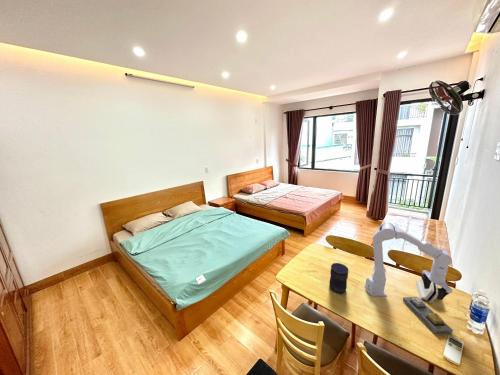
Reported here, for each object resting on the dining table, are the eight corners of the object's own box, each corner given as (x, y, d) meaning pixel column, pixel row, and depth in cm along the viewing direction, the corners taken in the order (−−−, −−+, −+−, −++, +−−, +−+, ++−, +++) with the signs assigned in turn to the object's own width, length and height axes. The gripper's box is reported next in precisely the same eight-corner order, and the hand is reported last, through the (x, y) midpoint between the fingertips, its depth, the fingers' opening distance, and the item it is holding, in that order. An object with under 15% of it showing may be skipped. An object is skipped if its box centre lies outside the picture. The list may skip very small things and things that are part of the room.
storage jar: (347, 295, 118) (350, 274, 114) (330, 293, 120) (332, 272, 116) (344, 283, 127) (346, 263, 123) (328, 281, 129) (329, 262, 126)
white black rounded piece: (415, 281, 127) (425, 270, 123) (423, 286, 126) (434, 275, 121) (420, 299, 114) (431, 288, 110) (429, 305, 112) (441, 293, 108)
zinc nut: (416, 311, 107) (418, 302, 105) (410, 305, 110) (412, 296, 109) (423, 310, 107) (425, 302, 105) (417, 304, 111) (419, 296, 109)
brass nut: (433, 328, 97) (435, 319, 96) (426, 321, 101) (428, 312, 99) (441, 328, 97) (443, 319, 96) (433, 320, 101) (436, 312, 99)
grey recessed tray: (435, 334, 94) (436, 330, 93) (402, 300, 113) (403, 297, 113) (451, 333, 94) (452, 329, 94) (416, 300, 113) (417, 296, 113)
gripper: (461, 281, 95) (454, 304, 98) (432, 263, 109) (427, 283, 112) (446, 282, 95) (440, 305, 98) (420, 263, 109) (415, 284, 112)
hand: (432, 293), depth 105 cm, fingers open, 7 cm apart
